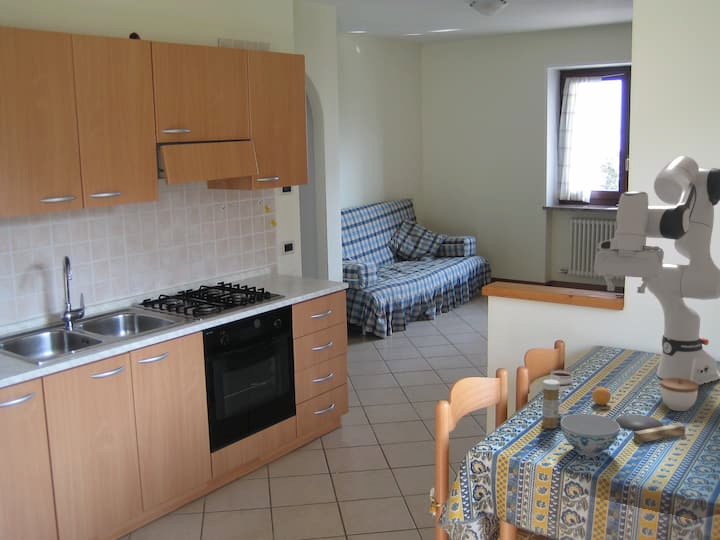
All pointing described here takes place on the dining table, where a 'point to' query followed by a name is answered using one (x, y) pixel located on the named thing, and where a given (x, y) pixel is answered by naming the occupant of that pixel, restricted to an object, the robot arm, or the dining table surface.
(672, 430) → the stopper strip
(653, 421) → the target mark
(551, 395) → the sprinkles bottle
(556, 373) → the wineglass
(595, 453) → the chinaware
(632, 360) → the dining table surface
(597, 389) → the ball
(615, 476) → the dining table surface
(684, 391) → the lidded jar
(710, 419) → the dining table surface
